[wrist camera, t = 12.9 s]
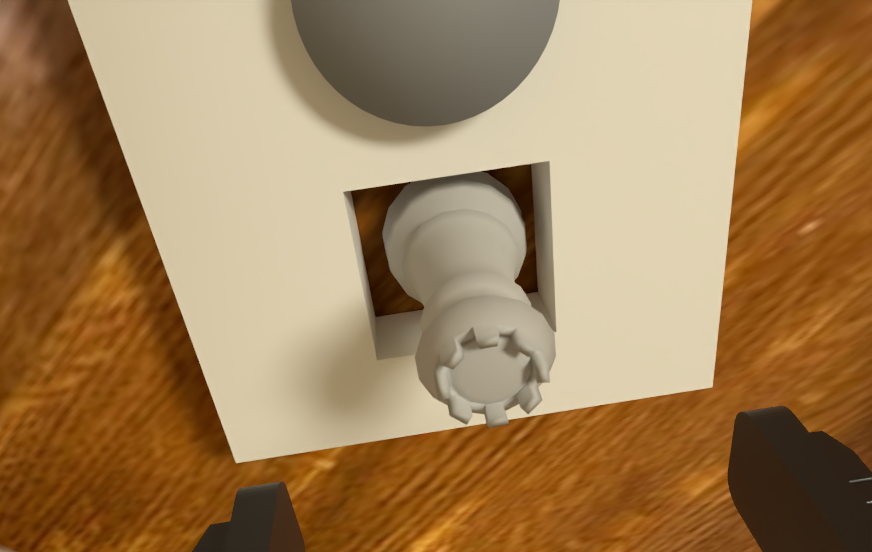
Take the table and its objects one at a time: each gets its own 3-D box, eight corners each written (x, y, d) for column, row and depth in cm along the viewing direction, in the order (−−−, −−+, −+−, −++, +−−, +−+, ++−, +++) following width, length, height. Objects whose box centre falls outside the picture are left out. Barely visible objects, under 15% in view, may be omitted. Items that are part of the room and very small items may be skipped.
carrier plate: (46, -185, 16) (-31, -207, 12) (726, -276, 16) (811, -318, 13) (247, 413, 24) (230, 486, 21) (681, 344, 25) (726, 406, 22)
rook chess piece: (445, 311, 23) (479, 488, 16) (352, 226, 21) (346, 384, 14) (548, 229, 22) (633, 382, 15) (459, 131, 20) (509, 253, 13)
